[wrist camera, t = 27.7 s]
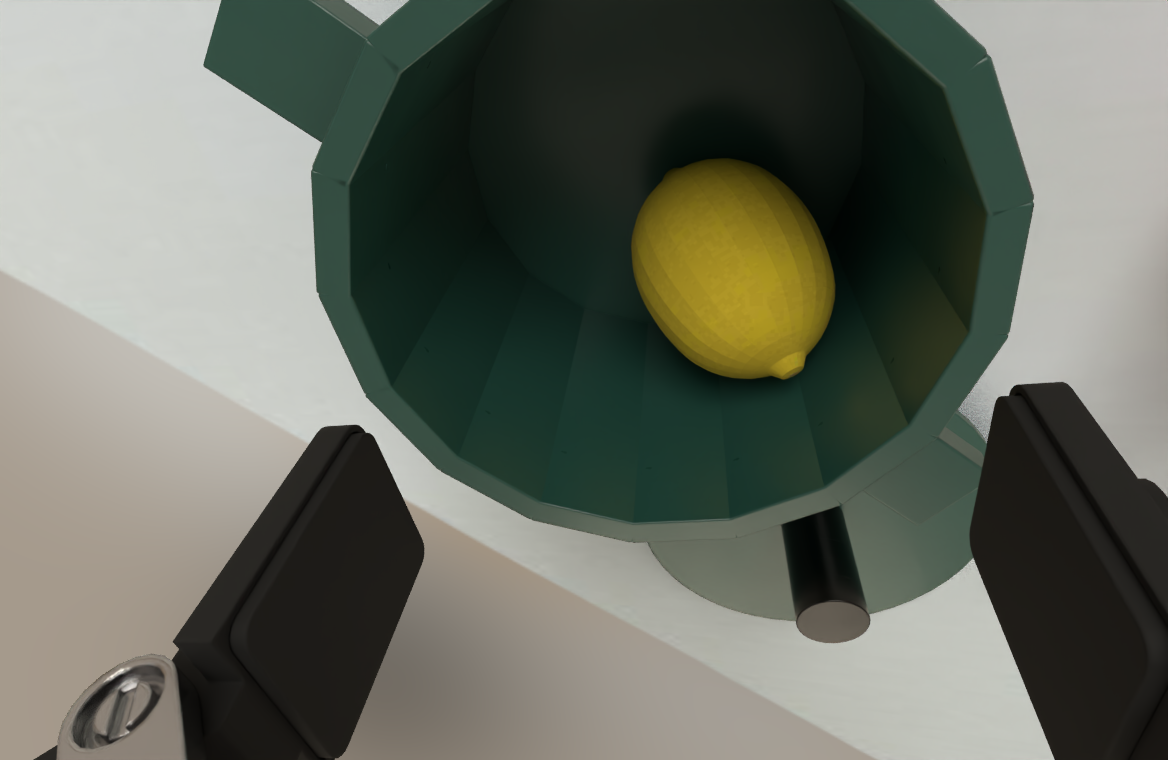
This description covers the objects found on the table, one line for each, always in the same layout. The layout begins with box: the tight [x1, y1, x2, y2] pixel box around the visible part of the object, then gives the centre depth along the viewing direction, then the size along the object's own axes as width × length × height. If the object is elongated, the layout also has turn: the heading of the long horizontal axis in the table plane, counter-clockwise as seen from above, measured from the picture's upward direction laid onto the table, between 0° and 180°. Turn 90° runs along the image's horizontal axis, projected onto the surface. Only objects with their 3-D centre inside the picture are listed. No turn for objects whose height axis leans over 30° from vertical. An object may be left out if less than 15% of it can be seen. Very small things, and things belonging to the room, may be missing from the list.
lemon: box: [631, 158, 835, 380], centre depth 21 cm, size 6×6×8 cm
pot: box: [203, 0, 1034, 543], centre depth 19 cm, size 15×20×11 cm
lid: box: [648, 410, 987, 643], centre depth 30 cm, size 16×16×7 cm
